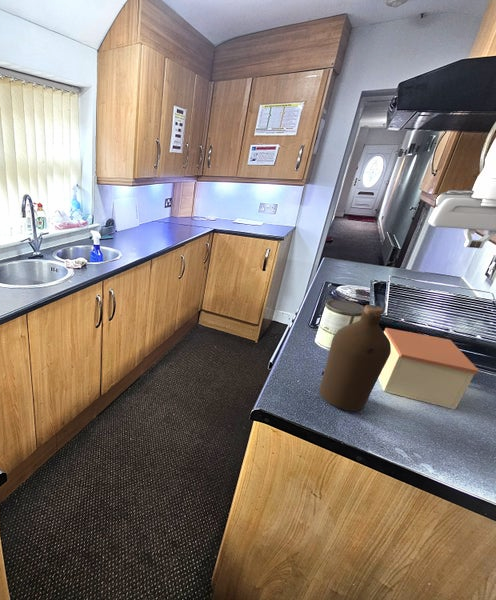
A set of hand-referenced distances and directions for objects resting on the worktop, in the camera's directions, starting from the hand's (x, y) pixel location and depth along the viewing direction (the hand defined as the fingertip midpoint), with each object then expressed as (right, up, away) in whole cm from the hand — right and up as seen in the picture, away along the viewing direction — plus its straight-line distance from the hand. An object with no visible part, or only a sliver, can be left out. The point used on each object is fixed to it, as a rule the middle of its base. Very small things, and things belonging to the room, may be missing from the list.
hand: (472, 247), depth 85 cm
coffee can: (-21, -29, +21) cm, 41 cm away
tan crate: (-14, -36, +3) cm, 39 cm away
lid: (-14, -26, -1) cm, 30 cm away
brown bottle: (-37, -38, -3) cm, 53 cm away
